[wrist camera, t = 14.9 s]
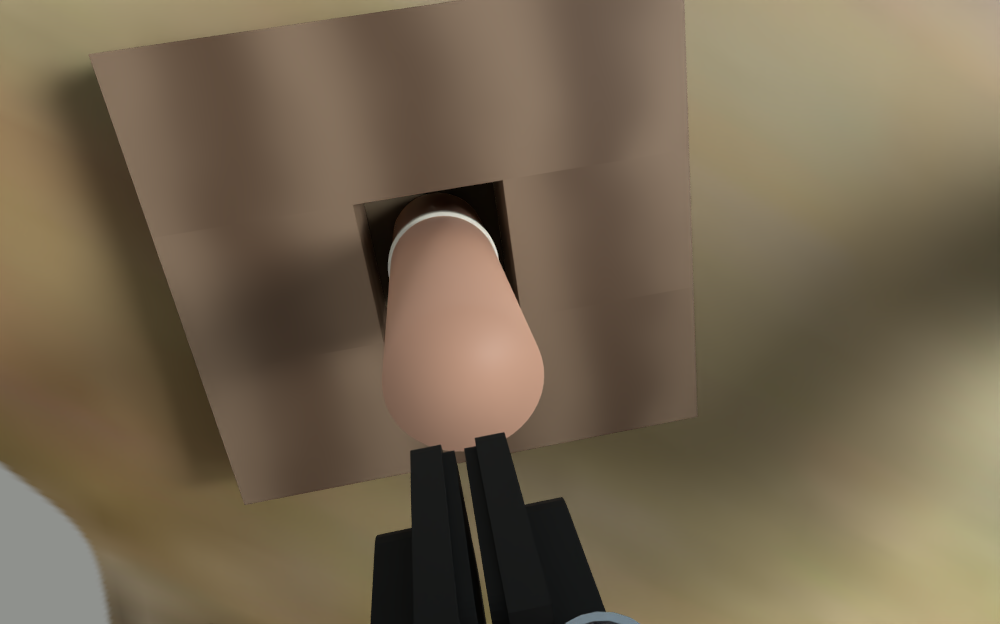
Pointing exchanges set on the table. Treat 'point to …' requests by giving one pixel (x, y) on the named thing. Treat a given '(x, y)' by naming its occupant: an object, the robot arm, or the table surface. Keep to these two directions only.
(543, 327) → the board
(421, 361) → the peg
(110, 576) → the table surface
